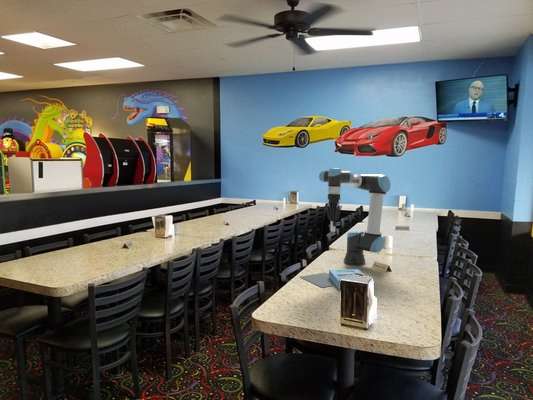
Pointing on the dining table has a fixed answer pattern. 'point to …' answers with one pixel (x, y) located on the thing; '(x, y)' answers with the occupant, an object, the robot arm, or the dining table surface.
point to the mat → (319, 279)
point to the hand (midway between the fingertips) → (332, 231)
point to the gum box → (342, 275)
